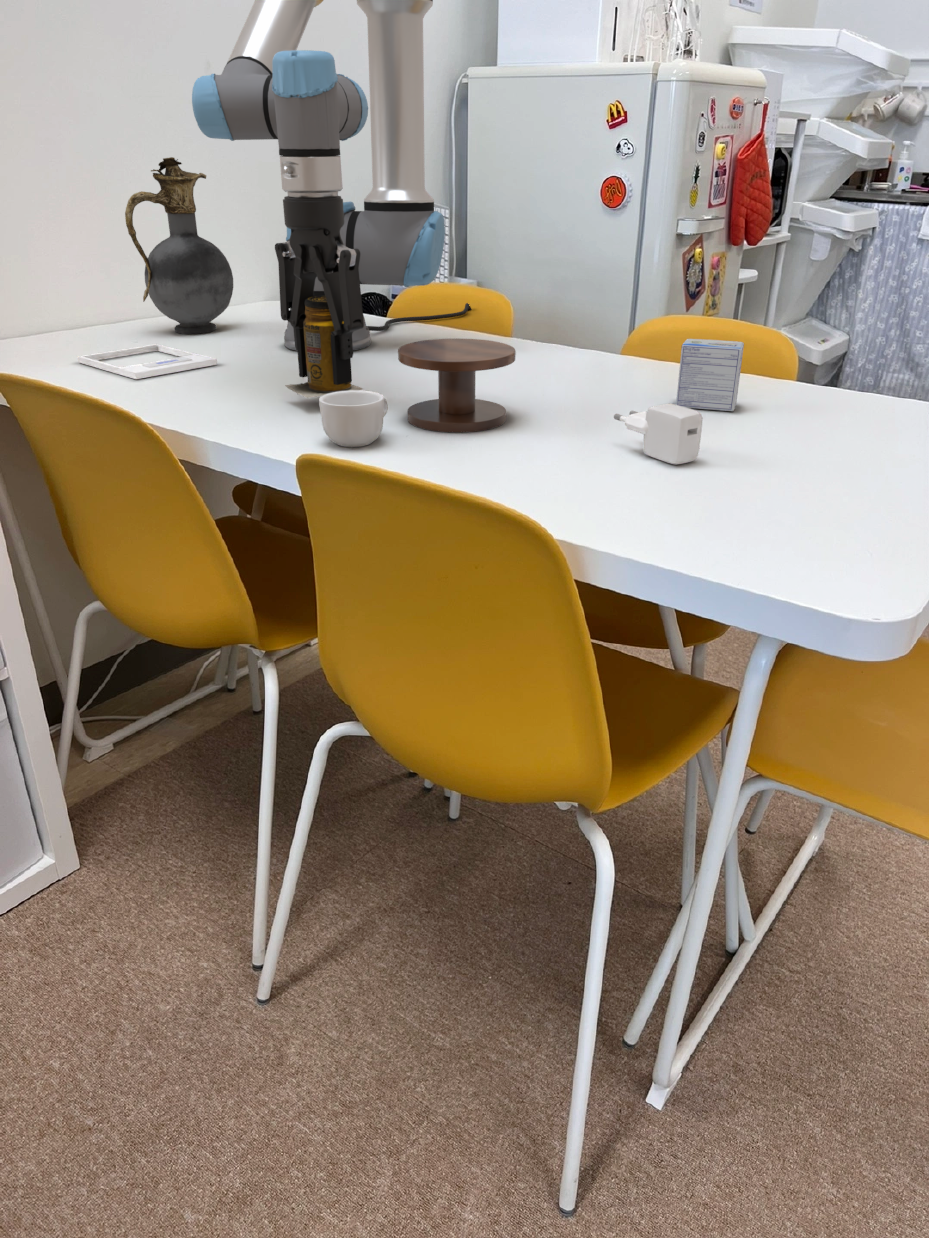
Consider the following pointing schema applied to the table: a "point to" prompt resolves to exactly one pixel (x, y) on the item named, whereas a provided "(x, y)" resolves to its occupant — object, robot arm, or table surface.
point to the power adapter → (667, 432)
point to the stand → (456, 383)
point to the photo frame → (151, 368)
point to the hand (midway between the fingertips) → (325, 378)
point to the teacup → (353, 416)
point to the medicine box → (709, 374)
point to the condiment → (318, 351)
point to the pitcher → (182, 256)
